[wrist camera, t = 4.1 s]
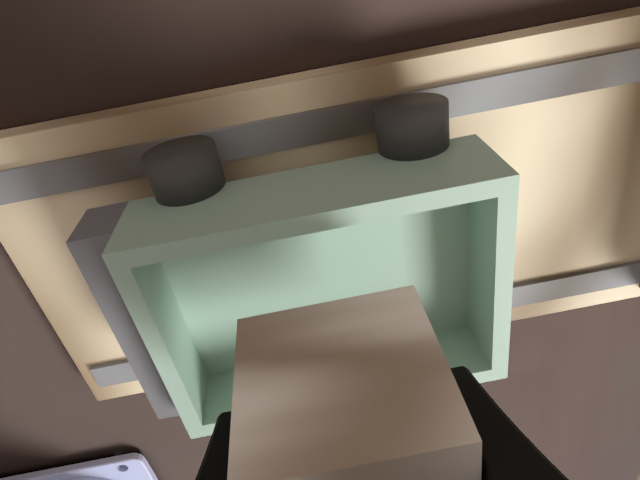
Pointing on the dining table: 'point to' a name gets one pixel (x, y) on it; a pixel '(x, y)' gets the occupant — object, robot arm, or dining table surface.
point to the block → (348, 395)
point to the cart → (303, 251)
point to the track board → (358, 140)
